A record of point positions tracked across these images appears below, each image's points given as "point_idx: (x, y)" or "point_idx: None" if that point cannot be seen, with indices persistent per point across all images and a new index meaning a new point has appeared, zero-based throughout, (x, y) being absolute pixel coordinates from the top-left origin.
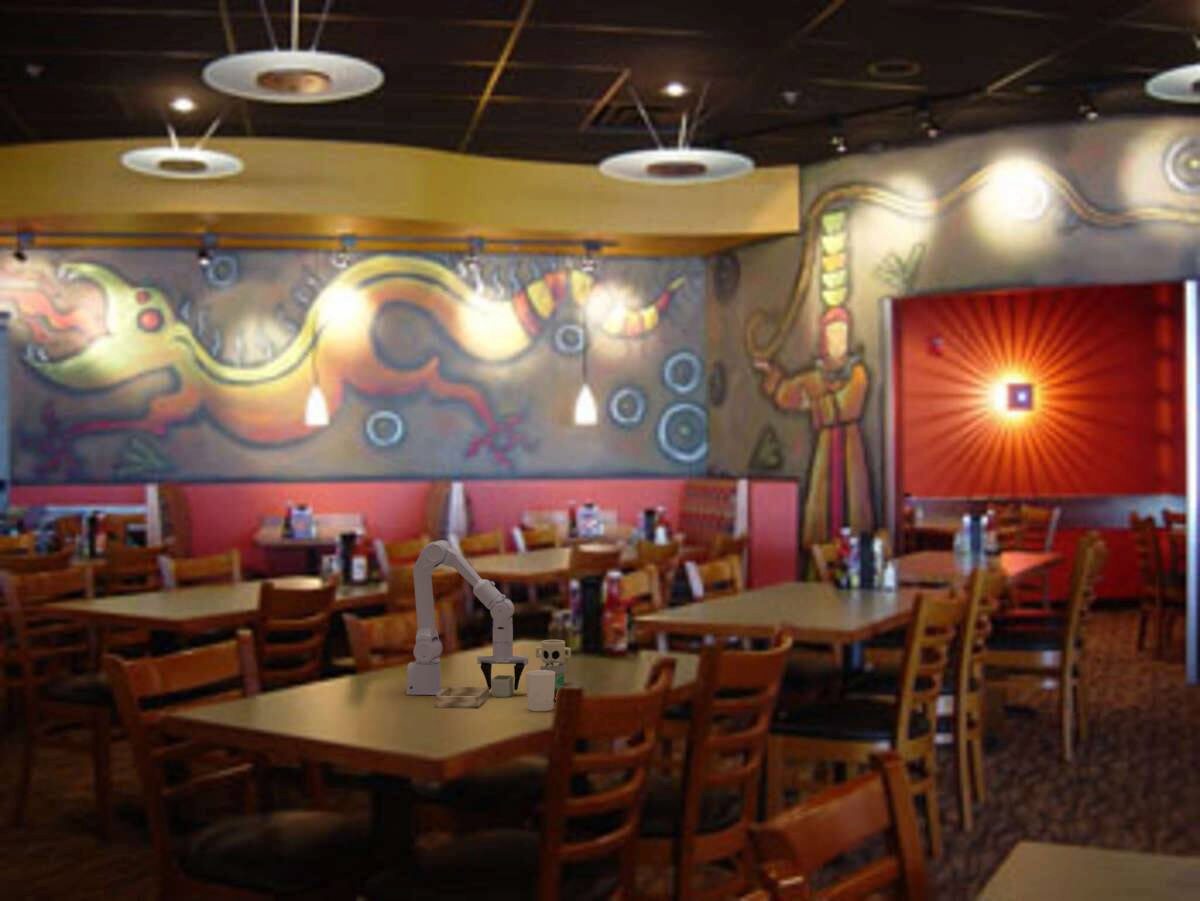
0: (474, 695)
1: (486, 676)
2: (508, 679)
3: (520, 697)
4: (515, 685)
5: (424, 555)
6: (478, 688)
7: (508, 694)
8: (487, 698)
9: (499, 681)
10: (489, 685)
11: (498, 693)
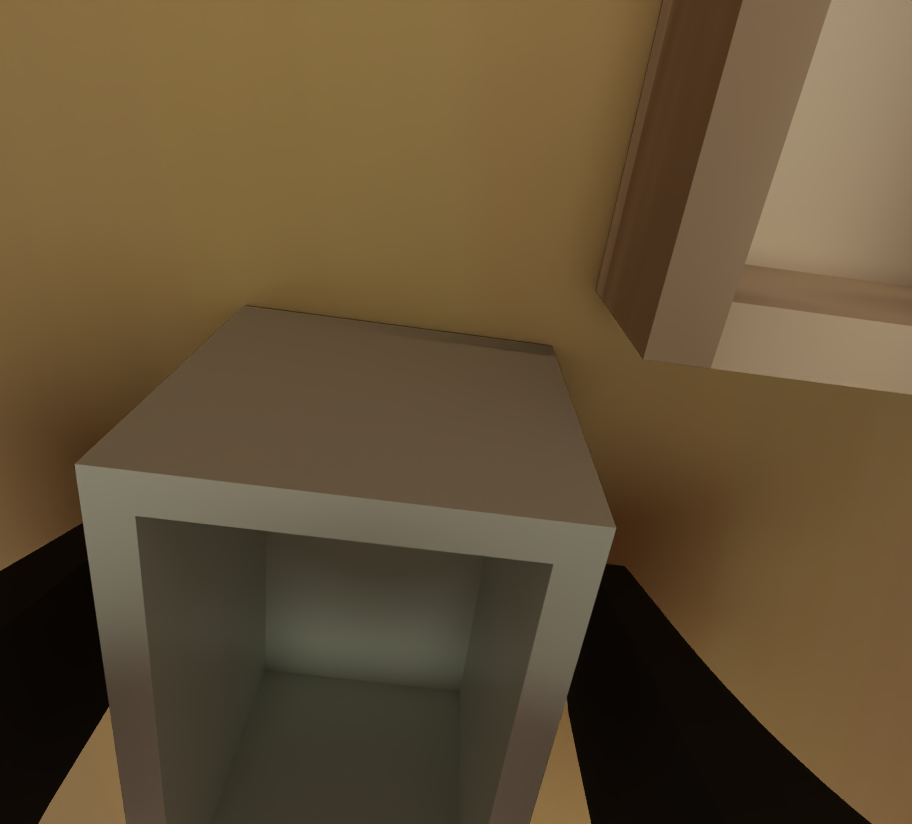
0: (896, 287)
1: (755, 757)
2: (114, 527)
3: (51, 318)
4: (74, 544)
5: None
6: (904, 321)
7: (238, 322)
8: (649, 85)
9: (385, 472)
10: (617, 601)
11: (430, 353)
